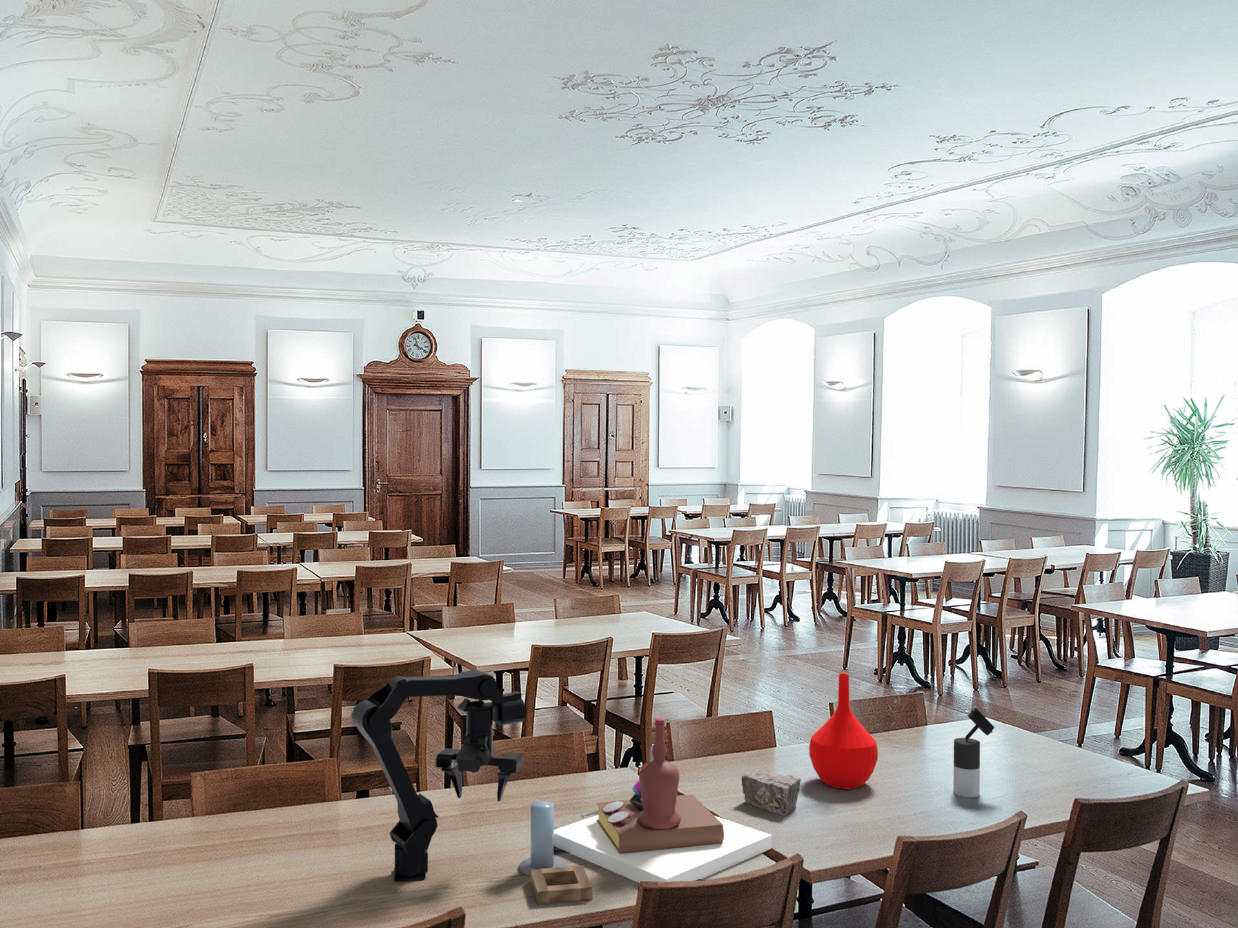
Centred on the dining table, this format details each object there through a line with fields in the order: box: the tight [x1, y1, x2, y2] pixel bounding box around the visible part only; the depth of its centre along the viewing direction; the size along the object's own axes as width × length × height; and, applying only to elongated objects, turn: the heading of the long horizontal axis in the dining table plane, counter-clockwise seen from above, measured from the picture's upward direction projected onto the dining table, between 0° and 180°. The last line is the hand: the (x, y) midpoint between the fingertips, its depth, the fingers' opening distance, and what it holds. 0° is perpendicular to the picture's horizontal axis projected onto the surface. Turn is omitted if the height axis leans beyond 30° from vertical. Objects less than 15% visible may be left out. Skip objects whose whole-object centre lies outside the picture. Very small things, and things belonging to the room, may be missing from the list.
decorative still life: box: [554, 717, 773, 883], centre depth 233 cm, size 35×40×31 cm
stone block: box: [741, 768, 801, 817], centre depth 259 cm, size 14×9×8 cm, turn 48°
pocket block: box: [529, 865, 593, 905], centre depth 208 cm, size 11×11×2 cm
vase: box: [808, 672, 879, 790], centre depth 277 cm, size 18×18×30 cm
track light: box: [953, 707, 996, 798], centre depth 269 cm, size 6×17×20 cm
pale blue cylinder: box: [529, 800, 555, 869], centre depth 219 cm, size 5×5×13 cm
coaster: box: [518, 856, 567, 877], centre depth 219 cm, size 10×10×1 cm
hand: (479, 799), depth 224 cm, fingers open, 9 cm apart
